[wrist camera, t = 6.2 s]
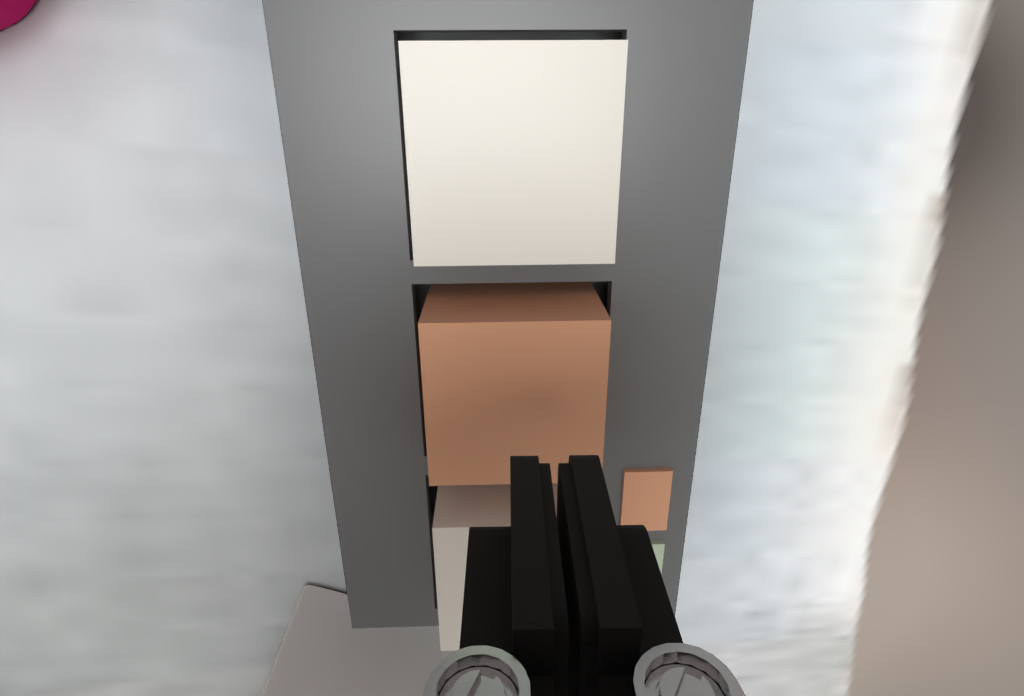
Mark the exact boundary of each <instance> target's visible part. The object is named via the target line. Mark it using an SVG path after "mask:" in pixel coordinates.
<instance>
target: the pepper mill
mask: <svg viewBox="0 0 1024 696" xmlns="http://www.w3.org/2000/svg"><path fill="white" fill-rule="evenodd" d="M35 2H36V0H0V31H1V30H3V29H5V28H7V27H9V26H11V25H13V24H15V23H16V22H18V21H19V20H20V19H21V18H23V17H24V16H25V15H26V14H27V13H28V12H29V11H30V9H31V8H32V6H33V5H34V3H35Z"/></svg>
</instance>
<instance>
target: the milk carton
mask: <svg viewBox="0 0 1024 696" xmlns="http://www.w3.org/2000/svg"><path fill="white" fill-rule="evenodd" d="M453 652H454V651H441V648H440V634H439V626H417V627H383V628H352V624H351V617H350V610H349V603H348V596H347V594H344V593H341V592H337V591H333V590H329V589H325V588H321V587H317V586H313V585H306V586H304V588H303V590H302V592H301V594H300V597H299V599H298V602H297V605H296V607H295V610H294V612H293V615H292V618H291V620H290V623H289V625H288V628H287V631H286V633H285V636H284V638H283V641H282V644H281V646H280V649H279V651H278V654H277V656H276V659H275V662H274V664H273V667H272V669H271V672H270V675H269V677H268V680H267V682H266V685H265V688H264V690H263V693H262V695H261V696H423V692H424V689H425V686H426V683H427V681H428V679H429V676H430V674H431V672H432V670H433V669H434V668H435V667H436V666H437V665H438V664H439V662H440V661H441V660H442V659H443V658H445V657H446V656H448V655H450V654H451V653H453Z"/></svg>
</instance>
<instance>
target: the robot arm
mask: <svg viewBox="0 0 1024 696" xmlns="http://www.w3.org/2000/svg"><path fill="white" fill-rule="evenodd" d="M510 502H511V526H501V527H470V528H469V536H468V548H467V561H466V573H465V585H464V598H463V610H462V622H461V635H460V647H459V650H456V651H454V652H453V653H451V654H450V655H448V656H446V657H445V658H443V659H442V660H441V661H440V662H439V664H438V665H437V666H436V667H435V668H434V669H433V670H432V672H431V674H430V676H429V679H428V681H427V683H426V686H425V689H424V692H423V696H746V695H745V694H744V692H743V690H742V688H741V686H740V685H739V683H738V681H737V679H736V678H735V677H734V675H733V674H732V673H731V671H730V670H729V669H728V667H727V666H726V665H725V664H724V663H722V662H721V661H720V660H719V659H718V658H716V657H715V656H714V655H713V654H711V653H709V652H707V651H705V650H703V649H701V648H699V647H696V646H692V645H688V644H684V643H683V641H682V638H681V635H680V632H679V629H678V625H677V622H676V619H675V616H674V613H673V610H672V607H671V604H670V600H669V597H668V594H667V591H666V588H665V585H664V582H663V578H662V575H661V572H660V569H659V566H658V563H657V560H656V556H655V553H654V550H653V547H652V544H651V541H650V538H649V535H648V532H647V529H646V527H645V526H644V525H616V521H615V517H614V514H613V510H612V506H611V502H610V498H609V494H608V490H607V486H606V482H605V478H604V474H603V470H602V466H601V462H600V458H599V456H598V455H570V456H569V460H568V463H559V464H558V481H557V515H556V511H555V502H554V494H553V485H552V477H551V468H550V463H539V457H538V456H510Z"/></svg>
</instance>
